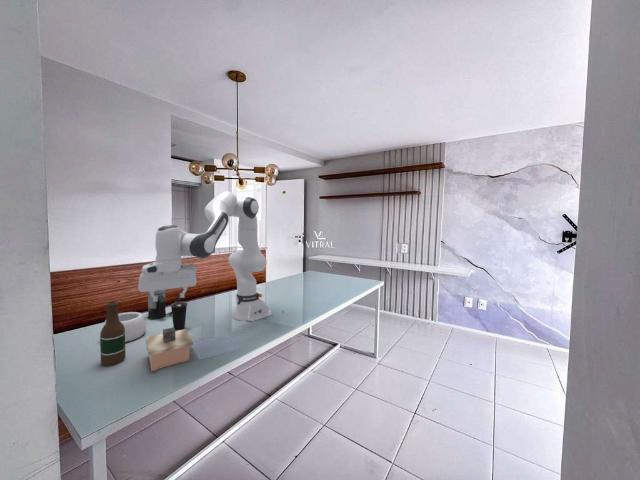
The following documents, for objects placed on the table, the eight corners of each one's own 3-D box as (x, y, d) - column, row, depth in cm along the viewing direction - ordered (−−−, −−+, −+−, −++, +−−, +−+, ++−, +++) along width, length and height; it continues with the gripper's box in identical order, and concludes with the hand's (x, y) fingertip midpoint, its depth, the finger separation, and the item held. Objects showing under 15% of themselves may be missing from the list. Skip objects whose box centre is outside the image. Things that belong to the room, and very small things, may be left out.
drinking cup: (180, 334, 128) (180, 294, 126) (167, 332, 129) (166, 293, 128) (190, 327, 135) (190, 290, 134) (178, 326, 137) (178, 289, 135)
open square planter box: (183, 348, 114) (183, 332, 114) (189, 361, 104) (189, 344, 103) (148, 356, 106) (148, 340, 106) (151, 371, 96) (151, 353, 95)
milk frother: (143, 318, 146) (143, 292, 145) (168, 309, 161) (168, 286, 160) (161, 322, 141) (161, 296, 140) (185, 313, 156) (185, 289, 155)
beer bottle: (127, 361, 102) (126, 302, 101) (102, 369, 97) (100, 307, 95) (123, 354, 107) (122, 298, 106) (99, 361, 102) (97, 302, 100)
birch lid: (185, 331, 115) (185, 320, 115) (193, 344, 103) (193, 332, 103) (145, 339, 106) (145, 327, 106) (148, 355, 94) (148, 342, 94)
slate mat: (227, 335, 128) (227, 334, 128) (239, 349, 114) (239, 348, 114) (190, 344, 118) (190, 343, 118) (198, 361, 104) (198, 360, 104)
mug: (110, 331, 127) (110, 312, 127) (149, 328, 133) (149, 309, 133) (90, 353, 107) (89, 330, 107) (137, 347, 113) (136, 325, 113)
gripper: (195, 262, 112) (195, 293, 113) (137, 266, 99) (138, 301, 100) (198, 265, 107) (198, 297, 108) (138, 269, 94) (139, 305, 95)
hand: (169, 299), depth 104 cm, fingers open, 8 cm apart
